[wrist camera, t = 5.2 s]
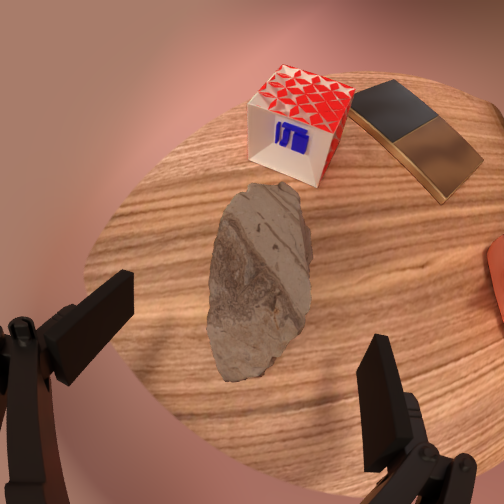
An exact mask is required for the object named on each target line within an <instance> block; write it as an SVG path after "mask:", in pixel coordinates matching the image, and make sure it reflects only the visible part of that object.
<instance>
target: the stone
mask: <svg viewBox="0 0 504 504" xmlns="http://www.w3.org/2000/svg"><path fill="white" fill-rule="evenodd" d="M212 255H213V256H212V260H211V266H210V276H209V289H210V296H209V303H210V309H209V312H208V316H207V328H206V330H207V334H208V337H209V339H210V345H211V349H212V353H213V356H214V359H215V361H216V366H217V369H218V371H219V373H220V374H221V375H222V378H223V380H224V381H225V382H229V381H230V382H239V381H240V380H246V379H247V378H248V377H262V376H263V375H264V372H265V370H266V369H267V368H269V367H271V366H272V365H273V363H274V361H275V358H276V357H280V356H281V354H282V353H283V351H284V349H285V348H286V346H287V344H288V343H289V341H290V340H291V339H293V338H295V337H296V336H297V335H299V334H300V333H301V331H302V330H303V328H304V325H305V315H306V314H307V313H308V312H309V310H310V304H311V284H310V280H309V277H310V275H309V272H310V269H309V264H310V262H311V261H312V260H313V252H312V246H311V231H310V229H309V228H308V227H307V226H306V225H305V221H304V219H303V216H302V211H301V206H300V197H299V195H298V193H297V192H296V191H295V190H294V189H293V188H291V187H290V186H289V185H287V184H286V183H285V182H280V183H279V184H278V185H265V184H257V183H251V184H249V185H248V190H247V192H240V193H238V194H236V195H235V196H234V198H233V199H232V200H231V202H230V204H229V205H227V207H226V209H225V210H224V212H223V215H222V217H221V219H220V224H219V229H218V234H217V237H216V239H215V242H214V249H213V253H212Z"/></svg>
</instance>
